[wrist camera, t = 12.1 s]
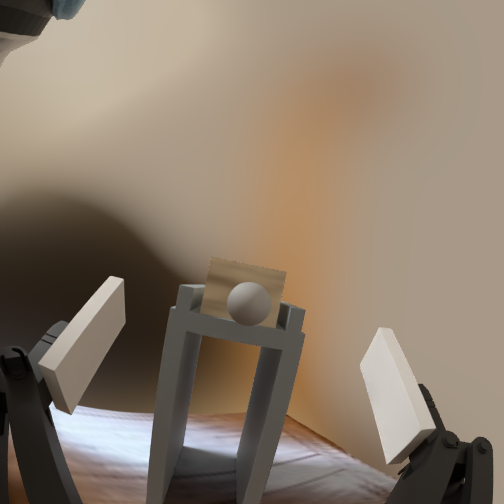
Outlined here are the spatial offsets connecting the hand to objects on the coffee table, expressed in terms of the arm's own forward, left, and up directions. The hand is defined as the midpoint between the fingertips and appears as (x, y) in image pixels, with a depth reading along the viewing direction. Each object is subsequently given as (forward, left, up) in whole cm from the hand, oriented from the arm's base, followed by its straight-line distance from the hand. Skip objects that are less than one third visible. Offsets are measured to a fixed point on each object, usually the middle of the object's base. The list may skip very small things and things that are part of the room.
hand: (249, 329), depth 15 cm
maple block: (-3, +12, -2) cm, 13 cm away
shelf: (-7, +25, -30) cm, 40 cm away
